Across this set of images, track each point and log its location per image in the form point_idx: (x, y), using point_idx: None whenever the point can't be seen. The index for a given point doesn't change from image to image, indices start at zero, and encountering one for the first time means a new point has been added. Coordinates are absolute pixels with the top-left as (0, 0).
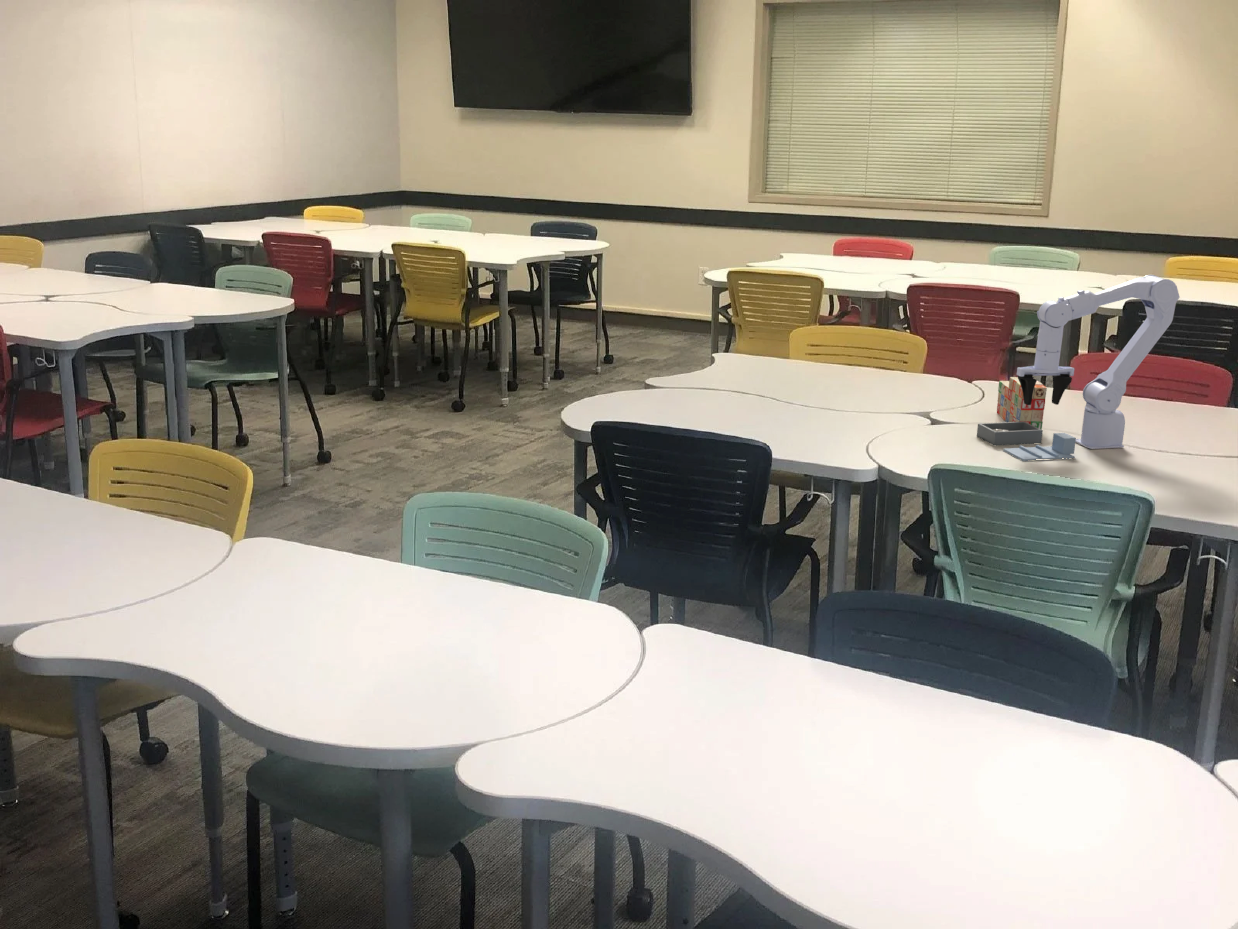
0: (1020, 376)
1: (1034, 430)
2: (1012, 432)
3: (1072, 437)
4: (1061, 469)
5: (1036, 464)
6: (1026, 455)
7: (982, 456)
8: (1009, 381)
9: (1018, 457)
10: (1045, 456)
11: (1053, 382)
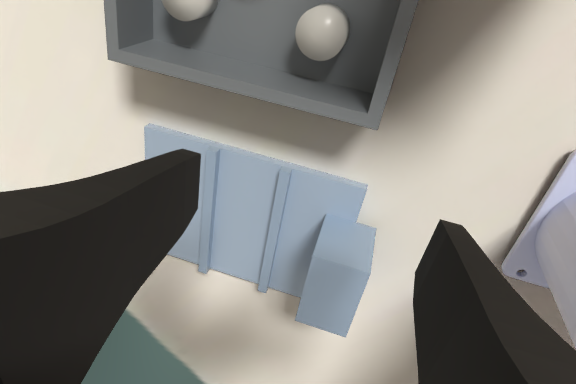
0: None
1: (327, 116)
2: (201, 83)
3: (337, 328)
4: (212, 334)
5: (173, 279)
6: None
7: (50, 148)
8: None
9: None
10: (233, 261)
11: (497, 360)
